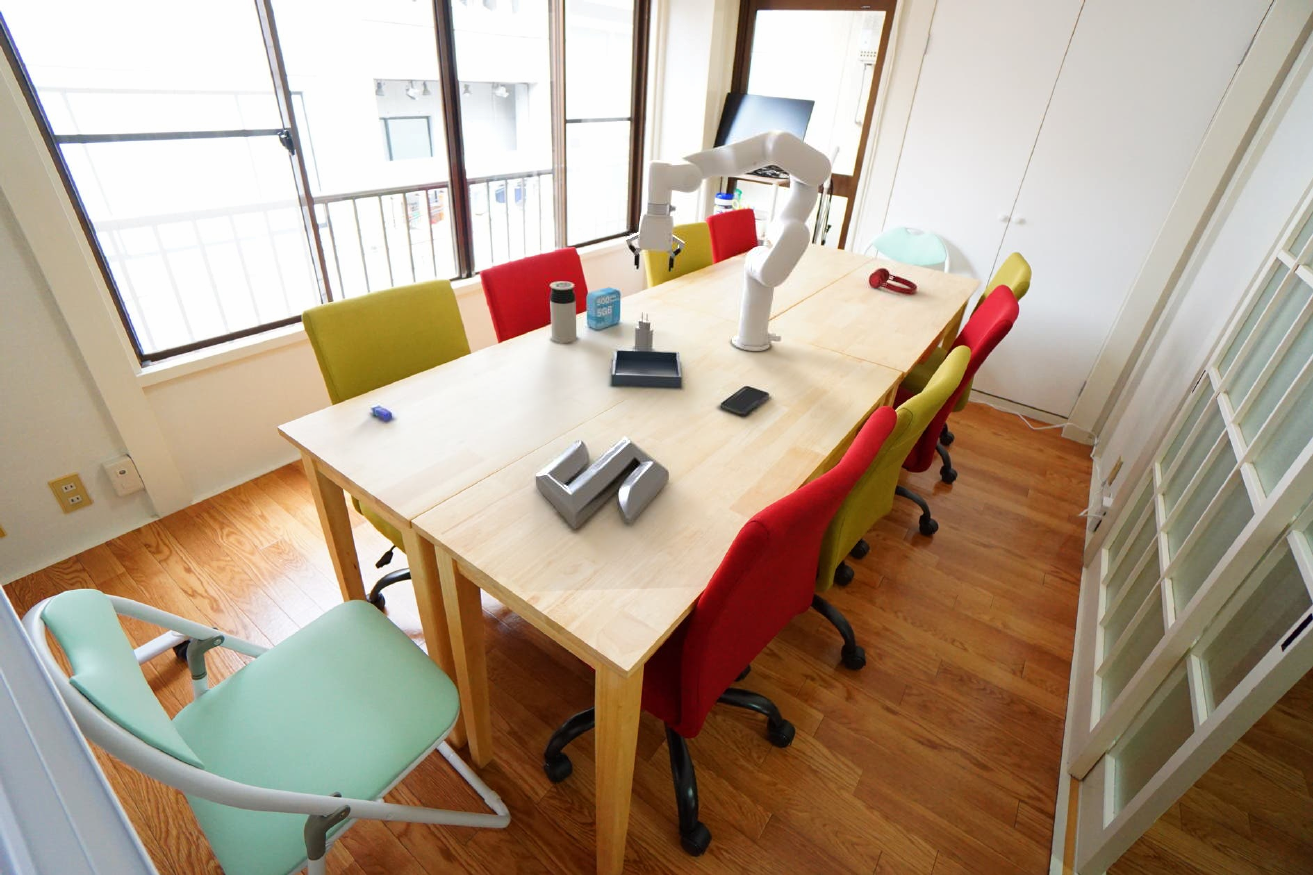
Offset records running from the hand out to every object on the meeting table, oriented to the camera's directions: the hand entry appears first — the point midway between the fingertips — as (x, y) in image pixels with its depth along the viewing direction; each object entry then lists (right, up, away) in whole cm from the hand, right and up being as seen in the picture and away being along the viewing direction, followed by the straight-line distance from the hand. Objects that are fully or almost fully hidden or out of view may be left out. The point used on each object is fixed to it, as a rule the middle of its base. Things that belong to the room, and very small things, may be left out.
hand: (653, 269), depth 173 cm
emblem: (-10, -61, -51) cm, 80 cm away
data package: (-18, -11, +29) cm, 35 cm away
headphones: (+106, +15, +83) cm, 135 cm away
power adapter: (-3, -22, +12) cm, 26 cm away
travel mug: (-29, -18, +16) cm, 38 cm away
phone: (+25, -41, -16) cm, 51 cm away
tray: (-2, -32, -3) cm, 32 cm away
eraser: (-67, -46, -31) cm, 87 cm away
